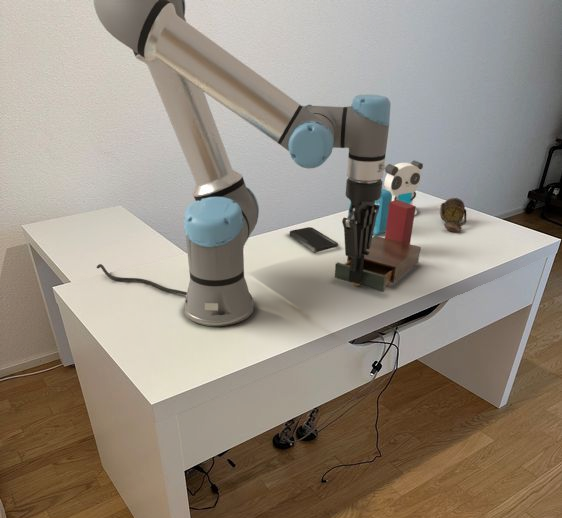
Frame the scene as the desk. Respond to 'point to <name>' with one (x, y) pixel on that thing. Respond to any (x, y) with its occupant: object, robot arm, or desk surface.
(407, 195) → the panda figurine
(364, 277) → the drawer
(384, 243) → the box
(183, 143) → the robot arm
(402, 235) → the card box
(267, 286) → the desk surface
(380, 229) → the data package
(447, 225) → the vintage travel clock
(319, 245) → the phone
